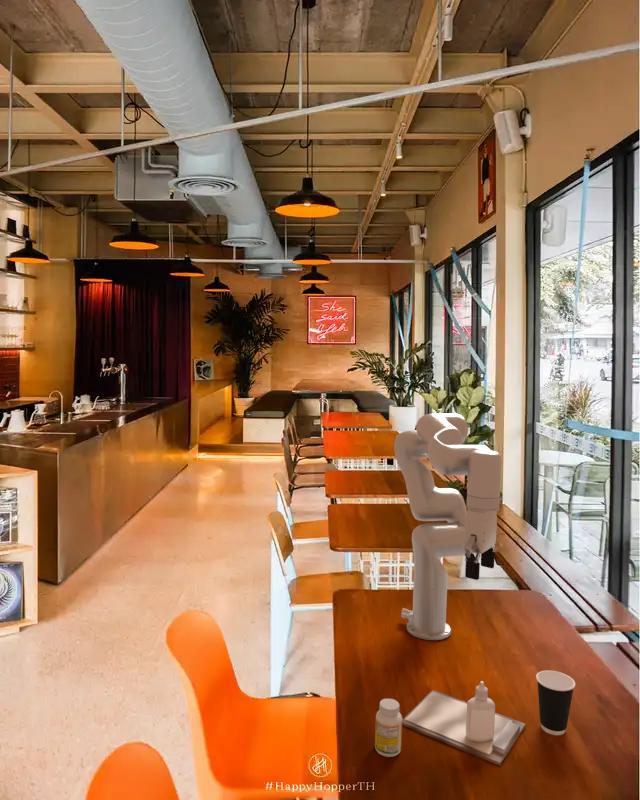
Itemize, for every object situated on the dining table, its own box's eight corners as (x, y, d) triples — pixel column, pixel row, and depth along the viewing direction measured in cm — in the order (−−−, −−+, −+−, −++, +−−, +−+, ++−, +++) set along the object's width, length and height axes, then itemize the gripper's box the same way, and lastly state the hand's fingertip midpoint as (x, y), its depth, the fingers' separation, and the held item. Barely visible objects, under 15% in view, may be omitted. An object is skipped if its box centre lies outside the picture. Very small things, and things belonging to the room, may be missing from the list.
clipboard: (400, 724, 133) (400, 717, 133) (432, 691, 146) (432, 685, 146) (499, 765, 120) (500, 757, 120) (525, 726, 133) (525, 719, 133)
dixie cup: (580, 737, 130) (583, 687, 129) (547, 742, 128) (550, 691, 127) (558, 715, 138) (560, 668, 137) (526, 719, 136) (528, 672, 135)
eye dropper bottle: (492, 746, 125) (494, 690, 124) (464, 739, 127) (466, 684, 126) (494, 734, 129) (497, 679, 128) (467, 727, 131) (469, 673, 130)
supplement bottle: (391, 761, 121) (393, 715, 120) (369, 749, 124) (370, 704, 124) (406, 748, 125) (407, 703, 124) (384, 737, 128) (385, 693, 128)
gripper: (481, 493, 155) (478, 559, 156) (453, 506, 141) (450, 579, 142) (510, 498, 150) (507, 566, 152) (484, 512, 136) (481, 587, 138)
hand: (479, 572), depth 147 cm, fingers open, 9 cm apart
